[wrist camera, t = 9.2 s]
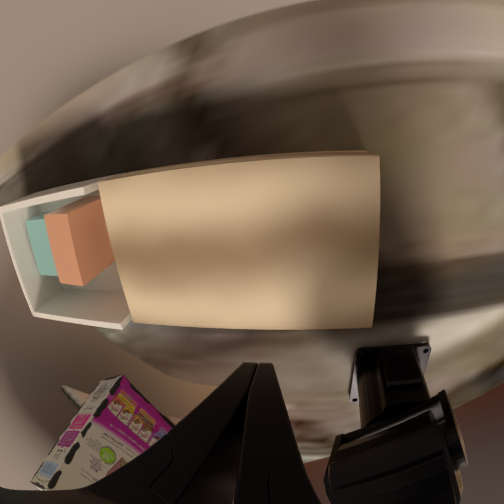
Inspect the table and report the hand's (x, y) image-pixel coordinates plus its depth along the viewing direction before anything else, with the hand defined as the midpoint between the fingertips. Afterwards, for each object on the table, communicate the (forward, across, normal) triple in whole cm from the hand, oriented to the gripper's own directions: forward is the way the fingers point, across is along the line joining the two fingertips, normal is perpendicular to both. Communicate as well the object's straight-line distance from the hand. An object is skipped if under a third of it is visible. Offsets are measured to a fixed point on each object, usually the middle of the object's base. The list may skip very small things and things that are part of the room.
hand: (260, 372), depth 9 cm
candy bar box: (+13, +18, +21) cm, 31 cm away
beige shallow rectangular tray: (+13, +3, 0) cm, 13 cm away
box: (+13, +17, 0) cm, 21 cm away
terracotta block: (+10, +13, -1) cm, 16 cm away
